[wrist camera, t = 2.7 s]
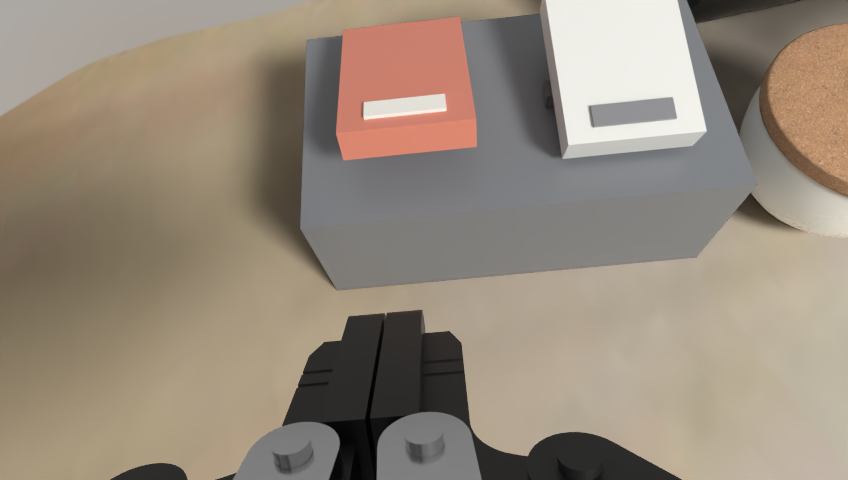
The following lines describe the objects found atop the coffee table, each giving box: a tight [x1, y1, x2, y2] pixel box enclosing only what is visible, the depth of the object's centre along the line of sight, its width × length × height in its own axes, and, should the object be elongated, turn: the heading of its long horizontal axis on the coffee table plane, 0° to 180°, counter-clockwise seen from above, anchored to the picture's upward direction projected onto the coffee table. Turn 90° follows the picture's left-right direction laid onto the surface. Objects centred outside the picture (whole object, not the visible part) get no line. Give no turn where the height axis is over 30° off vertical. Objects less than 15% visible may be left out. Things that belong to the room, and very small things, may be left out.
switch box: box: [300, 0, 757, 290], centre depth 32 cm, size 21×12×9 cm, turn 94°
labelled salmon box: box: [336, 17, 477, 160], centre depth 27 cm, size 6×8×2 cm
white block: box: [540, 0, 707, 159], centre depth 27 cm, size 6×8×2 cm
